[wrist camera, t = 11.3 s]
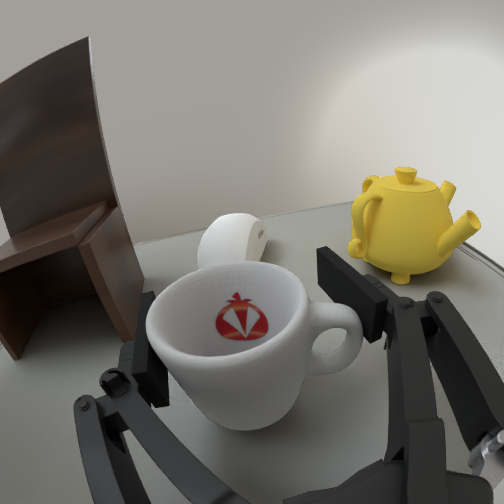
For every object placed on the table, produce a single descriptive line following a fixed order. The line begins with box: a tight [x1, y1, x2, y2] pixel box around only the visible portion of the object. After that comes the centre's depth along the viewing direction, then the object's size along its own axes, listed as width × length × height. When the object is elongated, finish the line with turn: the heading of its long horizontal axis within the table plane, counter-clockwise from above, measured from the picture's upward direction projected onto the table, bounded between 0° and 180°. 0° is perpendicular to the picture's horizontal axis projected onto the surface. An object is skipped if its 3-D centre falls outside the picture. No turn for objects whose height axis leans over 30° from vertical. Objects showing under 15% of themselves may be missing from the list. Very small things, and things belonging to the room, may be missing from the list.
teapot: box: [347, 167, 481, 284], centre depth 26 cm, size 14×14×11 cm
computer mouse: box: [197, 213, 267, 270], centre depth 35 cm, size 6×13×6 cm, turn 166°
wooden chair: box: [0, 36, 144, 360], centre depth 21 cm, size 13×18×34 cm
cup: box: [146, 261, 363, 431], centre depth 14 cm, size 11×8×8 cm
